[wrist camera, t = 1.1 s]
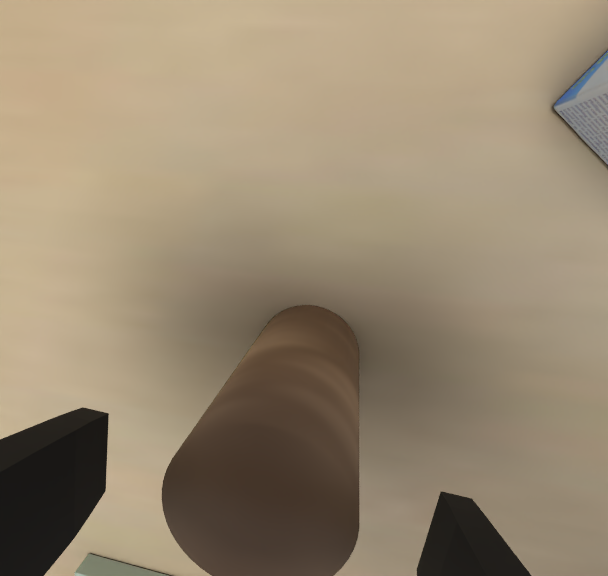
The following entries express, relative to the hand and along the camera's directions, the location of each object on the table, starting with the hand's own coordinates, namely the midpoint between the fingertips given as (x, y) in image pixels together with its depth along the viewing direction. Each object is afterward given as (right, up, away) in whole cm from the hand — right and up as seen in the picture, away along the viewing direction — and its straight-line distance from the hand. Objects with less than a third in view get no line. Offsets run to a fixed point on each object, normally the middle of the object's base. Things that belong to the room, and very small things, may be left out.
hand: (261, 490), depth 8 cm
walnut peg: (+1, +2, +7) cm, 7 cm away
